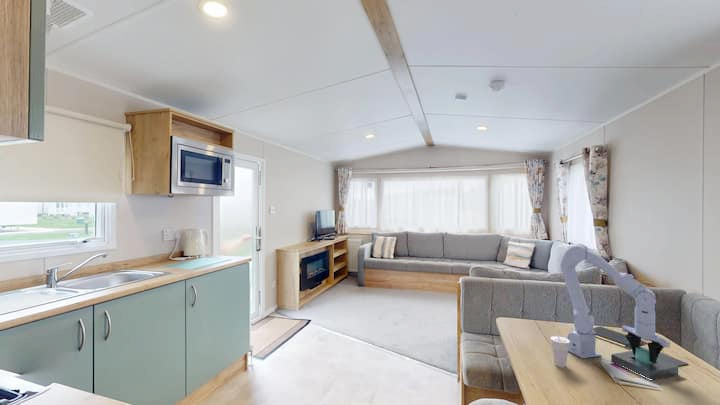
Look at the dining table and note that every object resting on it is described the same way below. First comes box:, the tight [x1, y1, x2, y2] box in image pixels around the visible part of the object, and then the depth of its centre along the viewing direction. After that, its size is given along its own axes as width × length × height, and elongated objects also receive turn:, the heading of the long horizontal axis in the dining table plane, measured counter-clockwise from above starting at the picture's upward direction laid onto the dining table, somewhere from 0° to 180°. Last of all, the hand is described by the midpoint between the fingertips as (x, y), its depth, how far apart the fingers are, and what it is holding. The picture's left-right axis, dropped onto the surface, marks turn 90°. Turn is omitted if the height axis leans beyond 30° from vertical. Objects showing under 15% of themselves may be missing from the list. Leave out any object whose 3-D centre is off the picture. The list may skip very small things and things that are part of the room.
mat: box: [657, 352, 689, 367], centre depth 124 cm, size 11×11×1 cm
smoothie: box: [550, 326, 570, 368], centre depth 120 cm, size 6×6×14 cm
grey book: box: [593, 326, 648, 351], centre depth 144 cm, size 20×2×15 cm
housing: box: [610, 350, 679, 381], centre depth 118 cm, size 14×13×3 cm
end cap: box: [635, 346, 653, 365], centre depth 118 cm, size 5×5×7 cm
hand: (644, 358), depth 118 cm, fingers closed on end cap, 5 cm apart
